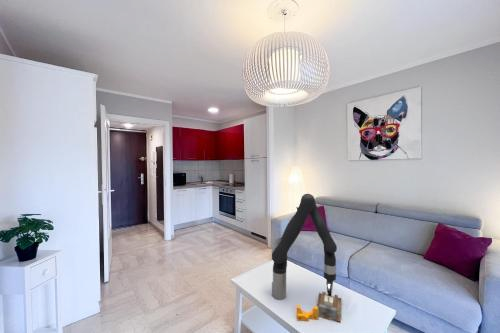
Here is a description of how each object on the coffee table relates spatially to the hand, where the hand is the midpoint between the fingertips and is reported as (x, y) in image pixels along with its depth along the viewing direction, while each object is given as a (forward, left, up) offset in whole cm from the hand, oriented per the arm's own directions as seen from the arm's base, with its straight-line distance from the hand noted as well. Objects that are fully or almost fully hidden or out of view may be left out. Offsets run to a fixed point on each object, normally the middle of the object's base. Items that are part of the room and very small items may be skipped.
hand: (329, 297), depth 138 cm
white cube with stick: (0, -7, -3) cm, 7 cm away
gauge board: (0, -4, -4) cm, 6 cm away
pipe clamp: (-11, -19, -5) cm, 22 cm away
